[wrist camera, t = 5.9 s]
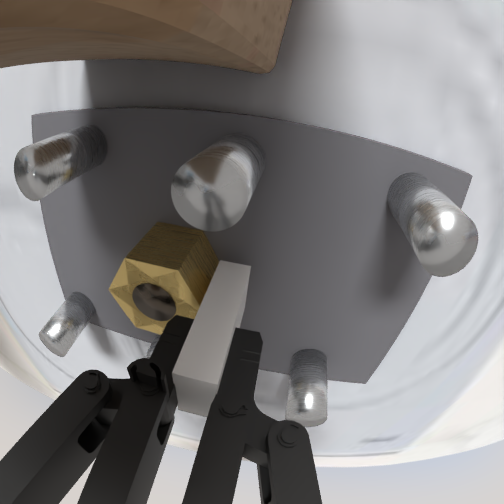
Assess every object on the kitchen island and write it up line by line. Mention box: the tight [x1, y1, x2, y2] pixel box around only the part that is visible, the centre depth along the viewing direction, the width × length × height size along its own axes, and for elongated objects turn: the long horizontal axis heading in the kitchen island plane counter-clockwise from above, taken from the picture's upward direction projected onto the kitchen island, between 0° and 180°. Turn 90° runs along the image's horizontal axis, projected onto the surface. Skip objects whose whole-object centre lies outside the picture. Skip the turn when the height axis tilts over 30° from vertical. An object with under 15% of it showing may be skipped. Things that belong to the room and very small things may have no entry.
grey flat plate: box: [32, 108, 472, 384], centre depth 16 cm, size 24×16×1 cm, turn 82°
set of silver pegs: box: [14, 125, 478, 427], centre depth 14 cm, size 21×14×4 cm
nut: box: [108, 222, 219, 335], centre depth 14 cm, size 5×4×4 cm
